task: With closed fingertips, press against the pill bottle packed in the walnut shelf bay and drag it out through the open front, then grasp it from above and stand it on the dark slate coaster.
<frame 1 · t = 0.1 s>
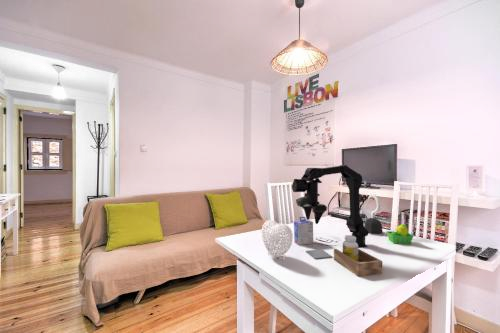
hand: (312, 221, 117), 15 cm above the table, fingers open, 9 cm apart
shelf bay: (356, 266, 98), on the table
ink cartridge box: (303, 243, 127), on the table
coaster: (318, 254, 110), on the table
pill bottle: (350, 262, 102), on the table
fruit basket: (400, 242, 128), on the table
hook: (373, 233, 146), on the table
decorative heart: (276, 258, 107), on the table
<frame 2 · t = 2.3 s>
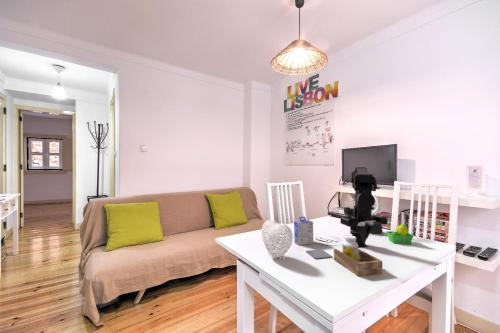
hand: (363, 241, 93), 12 cm above the table, fingers closed
nothing on the table moved.
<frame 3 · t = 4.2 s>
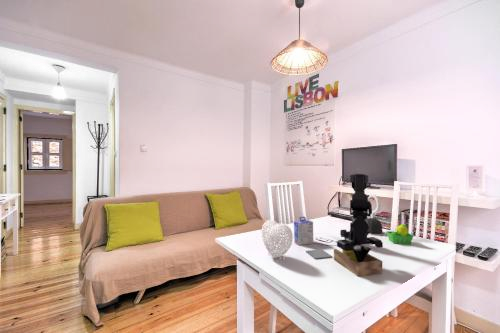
hand: (359, 263, 96), 2 cm above the table, fingers closed, pressing on pill bottle
pill bottle: (350, 262, 102), on the table, touching gripper
everything else where it was.
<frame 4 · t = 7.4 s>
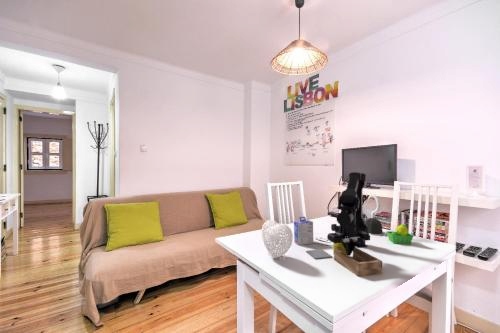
hand: (348, 255, 103), 3 cm above the table, fingers closed
pill bottle: (340, 256, 108), on the table
everything else where it was.
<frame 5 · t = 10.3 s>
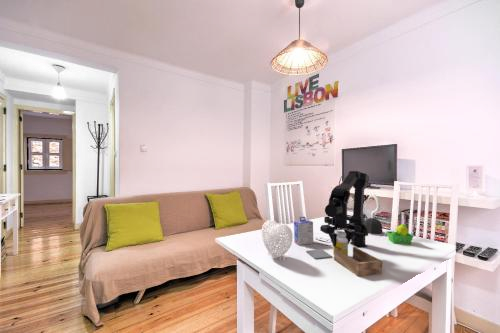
hand: (340, 246, 108), 5 cm above the table, fingers closed on pill bottle, 6 cm apart
pill bottle: (340, 256, 108), on the table, touching gripper
everything else where it was.
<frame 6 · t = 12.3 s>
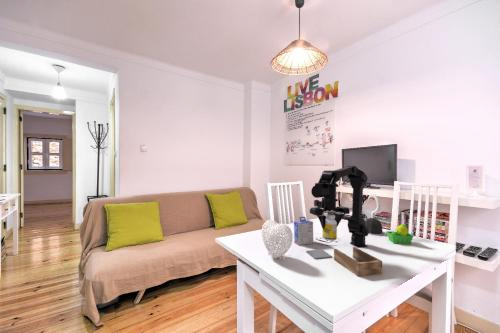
hand: (329, 228, 109), 13 cm above the table, fingers closed on pill bottle, 6 cm apart
pill bottle: (329, 239, 109), point 8 cm above the table, touching gripper
everything else where it was.
when the fingers open (6 cm above the table, at t = 14.3 s): pill bottle stays where it is, resting on coaster.
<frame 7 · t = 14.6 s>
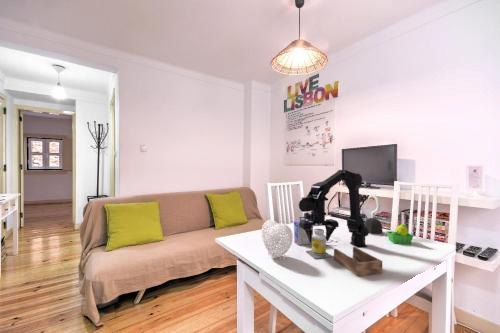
hand: (318, 241, 110), 6 cm above the table, fingers open, 9 cm apart
pill bottle: (318, 253, 110), resting on coaster
everything else where it was.
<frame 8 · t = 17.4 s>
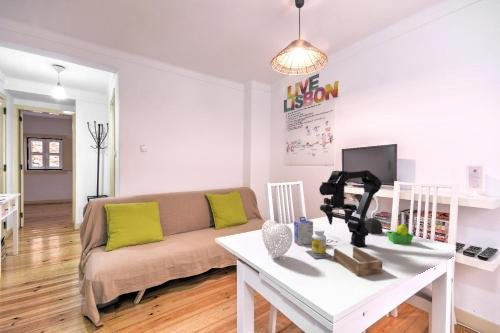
hand: (338, 223, 118), 13 cm above the table, fingers open, 9 cm apart
nothing on the table moved.
at the end: pill bottle inside the target area on the coaster (0.1 cm from its centre), point 0.4 cm above the coaster's base; pill bottle tilted 0°; the gripper is holding nothing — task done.
